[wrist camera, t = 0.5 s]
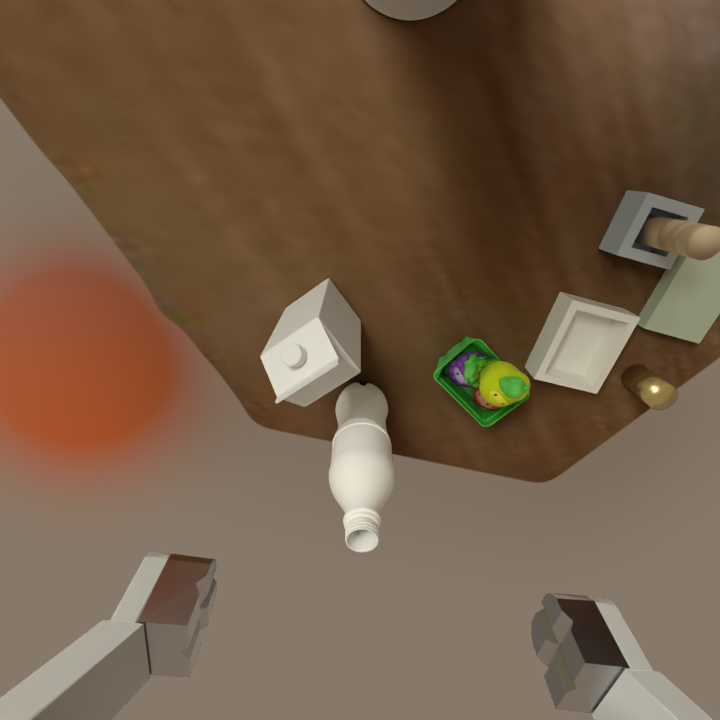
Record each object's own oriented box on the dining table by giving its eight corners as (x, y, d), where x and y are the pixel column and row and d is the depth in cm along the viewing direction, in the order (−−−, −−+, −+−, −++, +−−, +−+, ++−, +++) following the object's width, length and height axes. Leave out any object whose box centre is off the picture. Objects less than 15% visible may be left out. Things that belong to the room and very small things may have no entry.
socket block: (626, 190, 48) (648, 192, 44) (679, 205, 49) (704, 209, 45) (598, 248, 51) (616, 255, 47) (648, 262, 51) (670, 269, 48)
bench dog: (629, 361, 57) (657, 382, 52) (653, 367, 58) (683, 389, 52) (616, 384, 59) (642, 406, 53) (639, 389, 59) (667, 412, 54)
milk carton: (361, 320, 55) (361, 392, 38) (318, 349, 57) (299, 429, 39) (329, 276, 52) (313, 332, 35) (285, 307, 54) (249, 374, 37)
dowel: (637, 211, 48) (702, 222, 39) (662, 218, 48) (732, 231, 39) (623, 239, 49) (682, 255, 40) (647, 245, 50) (711, 264, 41)
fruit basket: (424, 359, 57) (438, 401, 47) (476, 316, 55) (502, 351, 44) (476, 409, 61) (499, 459, 50) (526, 371, 58) (562, 415, 48)
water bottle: (326, 401, 60) (305, 545, 37) (357, 366, 58) (355, 497, 35) (365, 427, 62) (367, 579, 39) (397, 394, 60) (419, 536, 37)
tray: (559, 291, 53) (572, 299, 50) (623, 308, 54) (640, 317, 51) (524, 366, 58) (534, 378, 54) (583, 381, 59) (596, 393, 55)
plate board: (685, 231, 50) (700, 234, 48) (742, 248, 51) (760, 252, 49) (632, 321, 55) (644, 328, 53) (685, 336, 56) (699, 343, 54)
